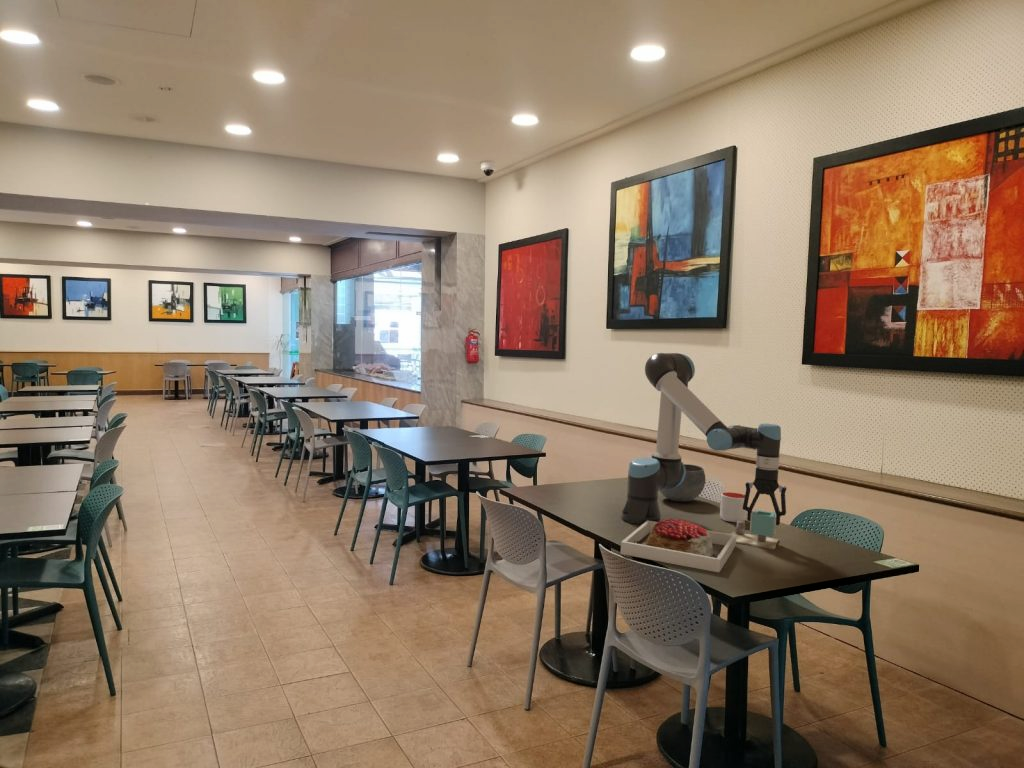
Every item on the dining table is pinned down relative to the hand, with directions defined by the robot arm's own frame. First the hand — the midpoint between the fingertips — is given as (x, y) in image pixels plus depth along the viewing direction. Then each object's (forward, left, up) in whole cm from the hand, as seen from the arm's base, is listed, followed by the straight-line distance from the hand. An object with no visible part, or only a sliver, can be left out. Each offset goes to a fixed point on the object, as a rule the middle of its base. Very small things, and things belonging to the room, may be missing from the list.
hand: (762, 531), depth 250 cm
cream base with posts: (-3, 0, -4) cm, 5 cm away
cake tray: (-23, -26, -4) cm, 35 cm away
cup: (-14, +26, -4) cm, 30 cm away
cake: (-24, -29, -4) cm, 38 cm away
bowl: (-40, +46, -4) cm, 61 cm away
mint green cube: (0, 0, 0) cm, 0 cm away
